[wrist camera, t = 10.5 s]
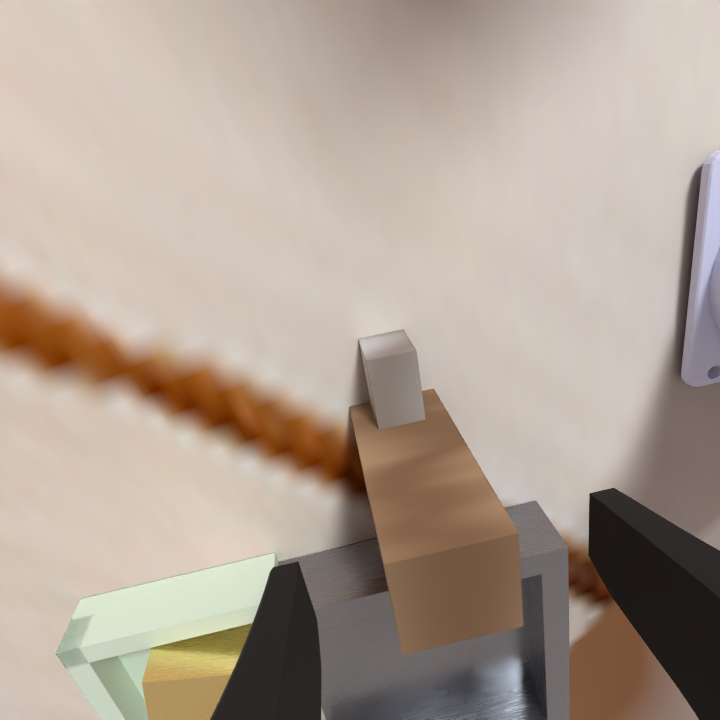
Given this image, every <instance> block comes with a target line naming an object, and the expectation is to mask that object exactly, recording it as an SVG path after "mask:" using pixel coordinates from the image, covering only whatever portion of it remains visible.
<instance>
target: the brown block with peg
mask: <svg viewBox="0 0 720 720" xmlns="http://www.w3.org/2000/svg"><path fill="white" fill-rule="evenodd" d="M359 344H360V350H361V355H362V360H363V366H364V371H365V376H366V382H367V387H368V392H369V398H370V403H365V404H361V405H356V406H351V407H349V409H350V414H351V418H352V423H353V428H354V433H355V437H356V442H357V447H358V452H359V457H360V461H361V466H362V471H363V476H364V480H365V485H366V489H367V494H368V499H369V503H370V508H371V512H372V517H373V521H374V526H375V531H376V535H377V540H378V544H379V549H380V553H381V558H382V563H383V567H384V572H385V576H386V581H387V585H388V590H389V595H390V599H391V604H392V608H393V613H394V618H395V622H396V627H397V631H398V636H399V640H400V645H401V650H402V654H403V655H406V654H410V653H415V652H419V651H423V650H427V649H431V648H435V647H439V646H444V645H448V644H452V643H456V642H460V641H464V640H468V639H473V638H477V637H481V636H485V635H489V634H493V633H497V632H502V631H506V630H510V629H514V628H518V627H522V626H523V607H522V587H521V566H520V545H519V533H518V531H517V529H516V528H515V526H514V524H513V522H512V521H511V519H510V517H509V516H508V514H507V512H506V511H505V509H504V507H503V505H502V504H501V502H500V500H499V499H498V497H497V495H496V494H495V492H494V490H493V488H492V487H491V485H490V483H489V482H488V480H487V478H486V477H485V475H484V473H483V472H482V470H481V468H480V466H479V465H478V463H477V461H476V460H475V458H474V456H473V455H472V453H471V451H470V449H469V448H468V446H467V444H466V443H465V441H464V439H463V438H462V436H461V434H460V432H459V431H458V429H457V427H456V426H455V424H454V422H453V421H452V419H451V417H450V416H449V414H448V412H447V410H446V409H445V407H444V405H443V404H442V402H441V400H440V399H439V397H438V395H437V393H436V392H435V390H434V389H430V390H426V391H422V389H421V382H420V374H419V367H418V360H417V352H416V349H415V347H414V346H413V344H412V343H411V341H410V339H409V338H408V336H407V334H406V333H405V331H404V330H398V331H394V332H389V333H384V334H379V335H374V336H370V337H365V338H360V339H359Z"/></svg>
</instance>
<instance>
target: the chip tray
mask: <svg viewBox="0 0 720 720" xmlns="http://www.w3.org/2000/svg"><path fill="white" fill-rule="evenodd" d="M276 566H278V561H277V558H276V555H275V553H273V554H269V555H264V556H260V557H256V558H252V559H248V560H243V561H239V562H235V563H231V564H227V565H222V566H218V567H214V568H210V569H206V570H201V571H197V572H193V573H189V574H184V575H180V576H176V577H172V578H168V579H163V580H159V581H155V582H151V583H147V584H142V585H138V586H134V587H130V588H126V589H121V590H117V591H113V592H109V593H105V594H100V595H96V596H92V597H88V598H84V599H81V600H80V602H79V605H78V607H77V609H76V611H75V613H74V615H73V617H72V620H71V622H70V624H69V626H68V628H67V630H66V632H65V635H64V637H63V639H62V641H61V643H60V645H59V647H58V650H57V652H56V655H57V656H58V658H59V659H60V661H61V662H62V664H63V665H64V667H65V668H66V670H67V671H68V673H69V674H70V675H71V677H72V678H73V680H74V681H75V683H76V684H77V686H78V687H79V689H80V690H81V692H82V693H83V695H84V696H85V698H86V699H87V701H88V702H89V704H90V705H91V706H92V708H93V709H94V711H95V712H96V714H97V715H98V717H99V718H100V720H148V714H147V709H146V703H145V698H144V692H143V687H142V680H143V676H144V673H145V669H146V666H147V662H148V658H149V655H150V651H151V648H152V647H156V646H160V645H164V644H168V643H172V642H176V641H181V640H185V639H189V638H193V637H197V636H201V635H205V634H209V633H213V632H218V631H222V630H226V629H230V628H234V627H238V626H242V625H246V624H250V623H253V621H254V618H255V615H256V612H257V610H258V607H259V604H260V601H261V598H262V595H263V592H264V589H265V586H266V583H267V580H268V576H269V573H270V571H271V569H272V568H273V567H276ZM321 720H326V718H325V715H324V713H323V710H322V707H321Z"/></svg>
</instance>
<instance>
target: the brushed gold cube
mask: <svg viewBox="0 0 720 720" xmlns="http://www.w3.org/2000/svg"><path fill="white" fill-rule="evenodd" d="M251 626H252V623H250V624H246V625H242V626H238V627H234V628H230V629H226V630H222V631H218V632H213V633H209V634H205V635H201V636H197V637H193V638H189V639H185V640H181V641H176V642H172V643H168V644H164V645H160V646H156V647H152V648H151V651H150V655H149V658H148V662H147V666H146V669H145V673H144V676H143V680H142V687H143V692H144V698H145V703H146V709H147V714H148V720H210V718H211V716H212V714H213V712H214V710H215V708H216V706H217V704H218V702H219V700H220V698H221V696H222V694H223V691H224V689H225V687H226V685H227V683H228V681H229V678H230V676H231V674H232V672H233V670H234V667H235V665H236V663H237V661H238V658H239V656H240V653H241V651H242V648H243V646H244V643H245V641H246V638H247V636H248V633H249V631H250V628H251Z"/></svg>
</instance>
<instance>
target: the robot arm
mask: <svg viewBox="0 0 720 720" xmlns="http://www.w3.org/2000/svg"><path fill="white" fill-rule="evenodd" d="M712 367H713V368H712ZM711 368H712V370H711V371H710V372H709V373H708V371H709V370H710V369H711ZM681 378H682V380H683V381H684V382H685V383H687V384H688V385H690V386H692V387H701V386H705V385H709V384H714V383H718V382H720V150H718V151H715V152H713V153H712V154H711V155H710V156H709V157H708V158H707V159H706V161H705V162H704V164H703V168H702V173H701V183H700V193H699V202H698V212H697V222H696V232H695V242H694V252H693V261H692V271H691V281H690V291H689V301H688V311H687V320H686V330H685V340H684V350H683V360H682V370H681ZM589 557H590V559H591V561H592V562H593V564H594V566H595V568H596V570H597V571H598V573H599V575H600V577H601V579H602V580H603V582H604V584H605V586H606V587H607V589H608V591H609V592H610V594H611V596H612V597H613V599H614V600H615V602H616V603H617V604H618V606H619V607H620V609H621V610H622V611H623V613H624V614H625V616H626V617H627V618H628V620H629V621H630V622H631V624H632V625H633V627H634V628H635V629H636V631H637V632H638V634H639V635H640V636H641V638H642V639H643V640H644V642H645V643H646V644H647V646H648V647H649V649H650V650H651V651H652V653H653V654H654V655H655V657H656V658H657V659H658V661H659V662H660V664H661V665H662V666H663V668H664V669H665V671H666V672H667V673H668V675H669V676H670V677H671V679H672V680H673V682H674V683H675V684H676V686H677V687H678V688H679V690H680V691H681V693H682V694H683V696H684V697H685V699H686V700H687V702H688V703H689V704H690V706H691V708H692V709H693V711H694V712H695V714H696V715H697V717H698V718H699V720H720V551H719V550H717V549H715V548H714V547H712V546H710V545H708V544H706V543H705V542H703V541H701V540H700V539H698V538H696V537H694V536H693V535H691V534H689V533H688V532H686V531H684V530H683V529H681V528H679V527H678V526H676V525H674V524H672V523H671V522H669V521H668V520H666V519H664V518H663V517H661V516H659V515H658V514H656V513H654V512H653V511H651V510H649V509H648V508H646V507H645V506H643V505H641V504H640V503H638V502H636V501H635V500H633V499H632V498H630V497H628V496H627V495H625V494H623V493H622V492H620V491H618V490H617V489H615V488H611V489H607V490H603V491H598V492H594V493H590V503H589ZM210 720H321V655H320V643H319V633H318V623H317V617H316V614H315V611H314V608H313V605H312V602H311V599H310V596H309V593H308V590H307V586H306V583H305V580H304V577H303V574H302V571H301V568H300V565H299V562H298V561H297V562H293V563H289V564H285V565H280V566H276V567H273V568H272V569H271V571H270V573H269V576H268V580H267V583H266V586H265V589H264V592H263V595H262V598H261V601H260V604H259V607H258V610H257V612H256V615H255V618H254V621H253V623H252V626H251V628H250V631H249V633H248V636H247V638H246V641H245V643H244V646H243V648H242V651H241V653H240V656H239V658H238V661H237V663H236V665H235V667H234V670H233V672H232V674H231V676H230V678H229V681H228V683H227V685H226V687H225V689H224V691H223V694H222V696H221V698H220V700H219V702H218V704H217V706H216V708H215V710H214V712H213V714H212V716H211V718H210Z"/></svg>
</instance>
